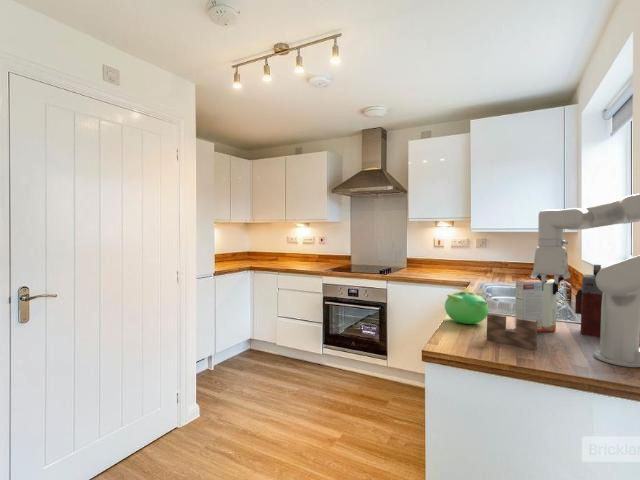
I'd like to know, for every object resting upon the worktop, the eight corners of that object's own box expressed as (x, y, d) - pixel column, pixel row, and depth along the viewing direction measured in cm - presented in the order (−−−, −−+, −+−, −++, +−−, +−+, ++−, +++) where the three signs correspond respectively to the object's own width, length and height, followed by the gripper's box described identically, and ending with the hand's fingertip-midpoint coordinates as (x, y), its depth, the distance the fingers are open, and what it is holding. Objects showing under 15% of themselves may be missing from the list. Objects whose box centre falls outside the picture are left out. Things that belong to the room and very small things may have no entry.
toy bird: (487, 320, 158) (488, 288, 158) (488, 331, 143) (489, 295, 142) (446, 316, 166) (446, 286, 165) (443, 325, 150) (443, 292, 150)
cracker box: (546, 327, 147) (547, 279, 147) (556, 331, 141) (557, 281, 140) (514, 328, 147) (515, 279, 146) (522, 332, 141) (524, 281, 140)
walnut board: (536, 348, 123) (537, 320, 123) (535, 350, 121) (535, 322, 121) (488, 338, 134) (489, 312, 133) (486, 340, 132) (487, 314, 131)
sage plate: (556, 318, 131) (556, 279, 131) (549, 326, 121) (550, 284, 121) (550, 318, 133) (550, 279, 132) (543, 325, 122) (543, 283, 122)
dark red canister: (575, 328, 147) (577, 262, 145) (609, 333, 139) (612, 264, 138) (573, 333, 140) (575, 264, 138) (609, 339, 132) (611, 266, 131)
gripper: (578, 243, 123) (578, 294, 124) (527, 243, 134) (527, 290, 135) (576, 244, 118) (575, 298, 118) (523, 243, 129) (523, 292, 129)
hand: (550, 293), depth 126 cm, fingers closed on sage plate, 2 cm apart
